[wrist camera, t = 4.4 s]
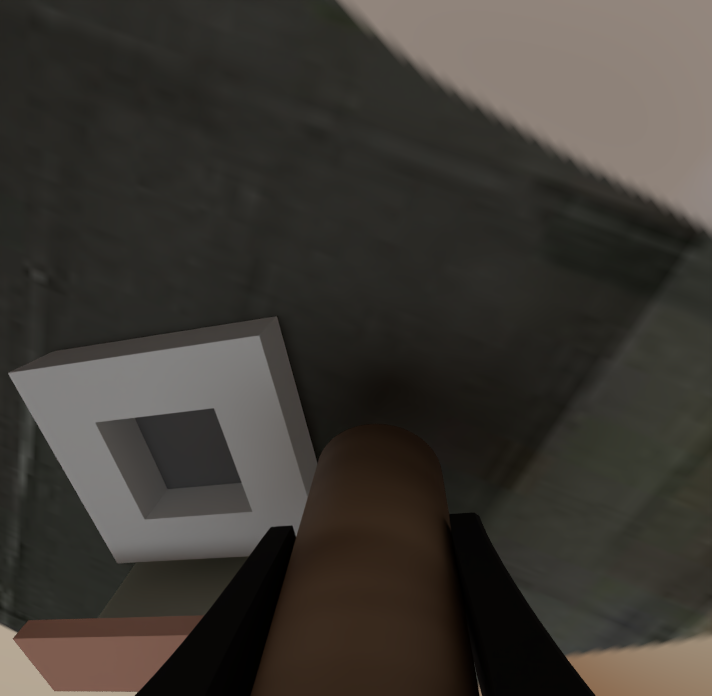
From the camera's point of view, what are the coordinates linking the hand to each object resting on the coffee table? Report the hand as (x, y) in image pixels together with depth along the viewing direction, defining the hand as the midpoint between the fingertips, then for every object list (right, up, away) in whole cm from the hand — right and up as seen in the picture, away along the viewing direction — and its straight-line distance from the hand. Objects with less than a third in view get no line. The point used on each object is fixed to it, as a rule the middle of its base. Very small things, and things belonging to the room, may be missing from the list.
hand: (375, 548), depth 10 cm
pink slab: (-8, -6, +13) cm, 17 cm away
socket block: (-9, 0, +11) cm, 14 cm away
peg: (0, +1, +2) cm, 3 cm away
